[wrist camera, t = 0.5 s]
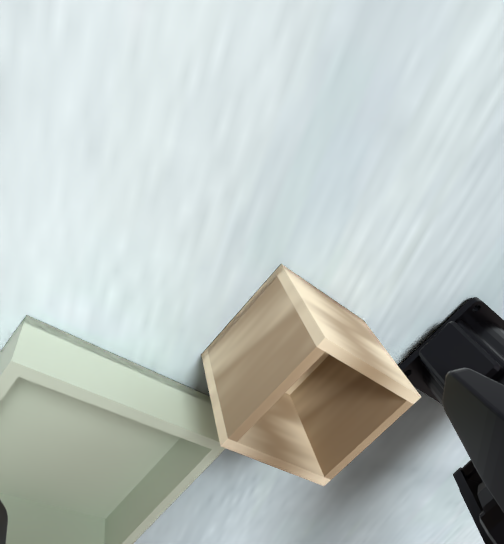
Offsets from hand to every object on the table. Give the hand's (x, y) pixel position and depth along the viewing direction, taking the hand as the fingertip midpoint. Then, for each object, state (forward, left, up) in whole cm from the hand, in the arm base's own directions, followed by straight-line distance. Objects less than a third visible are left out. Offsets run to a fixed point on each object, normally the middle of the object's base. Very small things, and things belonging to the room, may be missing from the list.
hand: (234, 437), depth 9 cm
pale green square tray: (-3, +14, -13) cm, 19 cm away
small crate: (-9, +3, -13) cm, 16 cm away
